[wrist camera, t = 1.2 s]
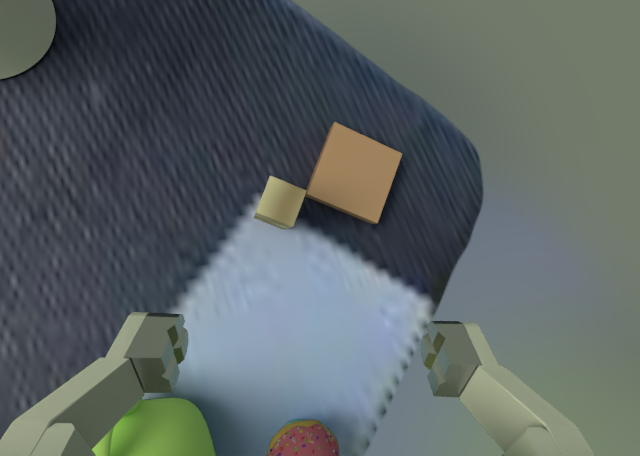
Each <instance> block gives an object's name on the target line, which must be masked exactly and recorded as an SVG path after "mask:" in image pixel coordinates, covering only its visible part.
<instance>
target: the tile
mask: <svg viewBox="0 0 640 456" xmlns="http://www.w3.org/2000/svg"><path fill="white" fill-rule="evenodd" d="M401 156H402V153H400V152H398V151H396V150H394V149H391V148H389V147H387V146H385V145H383V144H381V143H379V142H377V141H374V140H372V139H370V138H368V137H366V136H364V135H362V134H359V133H357V132H355V131H353V130H351V129H349V128H347V127H344V126H342V125H340V124H338V123H336V122H334V123H333V125H332V126H331V127H330V130H329V133H328V135H327V138H326V141H325V143H324V146H323V148H322V151H321V154H320V156H319V159H318V161H317V164H316V167H315V169H314V172H313V174H312V177H311V180H310V182H309V185H308V187H307V190H306V194H305V197H308V198H310V199H313V200H315V201H318V202H320V203H322V204H325V205H327V206H330V207H332V208H334V209H337V210H339V211H342V212H344V213H347V214H349V215H351V216H354V217H356V218H359V219H361V220H364V221H366V222H368V223H371V224H376V223H378V221H379V218H380V215H381V212H382V210H383V207H384V204H385V201H386V198H387V196H388V193H389V190H390V187H391V184H392V181H393V179H394V176H395V173H396V170H397V167H398V165H399V162H400V159H401Z"/></svg>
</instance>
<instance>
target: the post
mask: <svg viewBox="0 0 640 456" xmlns="http://www.w3.org/2000/svg"><path fill="white" fill-rule="evenodd" d="M305 194H306V190H304V189H301V188H299V187H297V186H294V185H292V184H289V183H287V182H284V181H282V180H280V179H277V178H275V177H272V176H270V177H269V180H268V183H267V185H266V188H265V190H264V193H263V195H262V198H261V200H260V203H259V205H258V208H257V211H256V213H255V216H254V218H255V219H258V220H261V221H263V222H266V223H268V224H271V225H274V226H276V227H279V228H282V229H287V228H291V227H293V226H294V223H295V220H296V218H297V215H298V212H299V210H300V207H301V205H302V202H303V199H304V197H305Z"/></svg>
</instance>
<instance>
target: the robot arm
mask: <svg viewBox="0 0 640 456" xmlns="http://www.w3.org/2000/svg"><path fill="white" fill-rule="evenodd" d="M55 28H56V15H55V9H54V6H53V3H52V0H0V79H4V78H8V77H11V76H14V75H17V74H19V73H21V72H24V71H25V70H27V69H29V68H30V67H32V66H33V65H34V64H36V63H37V62H38V61H39V60H40V59H41V58H42V57H43V56H44V54H45V53H46V52H47V50H48V49H49V47H50V45H51V43H52V40H53V37H54V34H55ZM184 322H185V320H184V316H183V314H167V313H148V312H132V313H131V314H130V315H129V316H128V318H127V320H126V321H125V323H124V325H123V327H122V328H121V330H120V332H119V334H118V336H117V337H116V339H115V341H114V343H113V345H112V346H111V348H110V350H109V352H108V353H107V355H106V357H105V358H99V359H98V360H96V361H95V362H94V363H92V364H91V365H89V366H88V367H87V368H85V369H84V370H83V371H81V372H80V373H78V374H77V375H76V376H74V377H73V378H72V379H70V380H69V381H68V382H66V383H65V384H63V385H62V386H61V387H59V388H58V389H57V390H55V391H54V392H52V393H51V394H50V395H48V396H47V397H46V398H44V399H43V400H42V401H40V402H39V403H37V404H36V405H35V406H33V407H32V408H31V409H29V410H28V411H26V412H25V413H24V414H22V415H21V416H20V417H18V418H17V419H16V420H14V421H13V422H12V424H11V425H10V427H9V428H8V430H7V431H6V432H5V434H4V435H3V437H2V438H1V440H0V456H96V455H95V453H94V452H93V451H92V449H93V448H94V447H95V446H96V445H97V444H98V443H99V442H100V441H101V439H102V438H103V437H104V436H105V435H106V434H107V433H108V432H109V431H110V430H111V429H112V428H113V427H114V426H115V425H116V424H117V423H118V422H119V421H120V420H121V419H122V418H123V417H124V415H125V414H126V413H127V412H128V411H129V410H130V409H131V408H132V407H133V406H134V405H135V404H136V403H137V402H138V401H139V400H140V399H141V398H142V397H143V396H144V393H170V392H173V391H174V388H175V385H176V382H177V379H178V376H179V373H180V371H179V368H178V364H179V363H181V362H182V361H183V360H184V358H185V355H186V352H187V347H188V332H187V330H186V329H185V328H184V327H183V325H184ZM427 331H428V333H427V334H426V335H424V336H423V338H422V341H421V356H422V360H423V364H424V365H425V366H426V367H427V368H428V369H429V370H430V372H429V375H428V380H429V383H430V386H431V389H432V393H433V396H442V397H444V396H445V397H459V400H460V401H461V402H462V403H463V404H464V405H465V406H466V408H467V409H468V410H469V411H470V412H471V413H472V415H473V416H474V417H475V418H476V419H477V420H478V422H479V423H480V424H481V425H482V426H483V428H484V429H485V430H486V431H487V432H488V433H489V435H490V436H491V437H492V438H493V439H494V440H495V442H496V443H497V444H498V445H499V446H500V447H501V449H502V450H503V451H504V452H505V453H504V454H503V455H502V456H595V455H594V454H593V452H592V450H591V449H590V447H589V445H588V444H587V442H586V441H585V439H584V437H583V436H582V434H581V432H580V431H579V429H578V428H577V426H576V425H575V424H573V423H572V422H571V421H570V420H569V419H567V418H566V417H565V416H564V415H562V414H561V413H560V412H559V411H558V410H556V409H555V408H554V407H553V406H552V405H550V404H549V403H548V402H546V401H545V400H544V399H543V398H542V397H541V396H539V395H538V394H537V393H536V392H535V391H533V390H532V389H531V388H530V387H529V386H527V385H526V384H525V383H524V382H522V381H521V380H520V379H519V378H518V377H516V376H515V375H514V374H513V373H512V372H510V371H509V370H508V369H506V367H504V366H499V364H498V362H497V360H496V358H495V356H494V354H493V352H492V351H491V349H490V347H489V345H488V343H487V341H486V339H485V337H484V335H483V333H482V331H481V329H480V327H479V325H478V324H477V323H475V322H458V321H431V322H429V324H428V326H427Z"/></svg>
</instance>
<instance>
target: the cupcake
mask: <svg viewBox="0 0 640 456" xmlns="http://www.w3.org/2000/svg"><path fill="white" fill-rule="evenodd" d="M266 456H339V446H338V442H337V439H336V437H335V436H334V435H333V434H332V433H331V432H330V431H329V430H328V429H327V428H326V427H325V426H324V425H323V424H321V423H320V422H319V421H317V420H303V419H295V420H292V421H290V422H288V423H287V424H285V425H284V426H283V428H281V429H280V430H279V432H278V433H277V434H276V435H275V436H274V437H273V438H272V440H271V442H270V445H269V448H268V452H267V455H266Z"/></svg>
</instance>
